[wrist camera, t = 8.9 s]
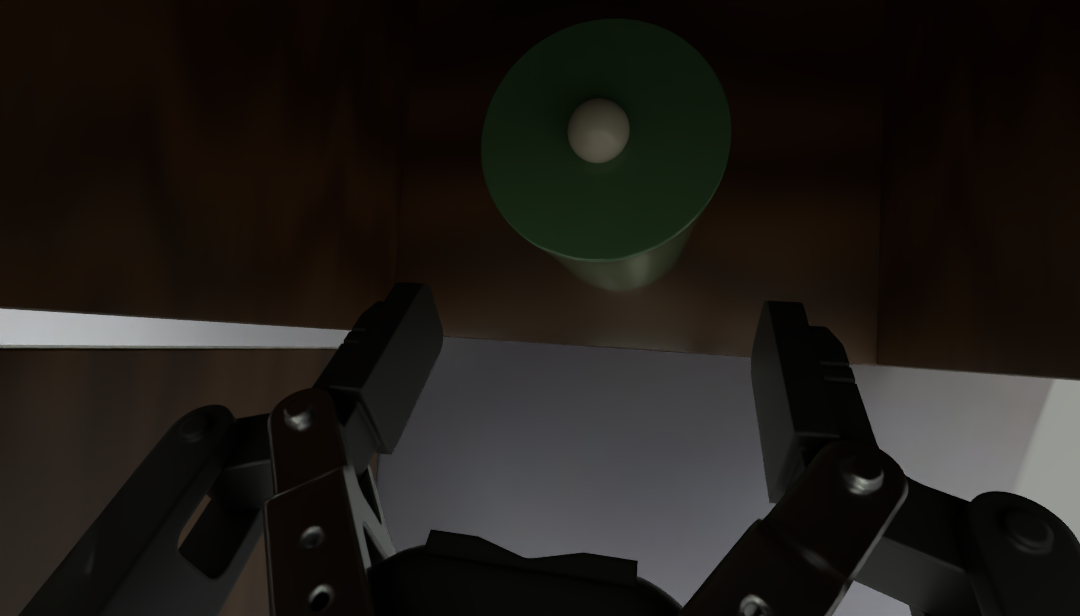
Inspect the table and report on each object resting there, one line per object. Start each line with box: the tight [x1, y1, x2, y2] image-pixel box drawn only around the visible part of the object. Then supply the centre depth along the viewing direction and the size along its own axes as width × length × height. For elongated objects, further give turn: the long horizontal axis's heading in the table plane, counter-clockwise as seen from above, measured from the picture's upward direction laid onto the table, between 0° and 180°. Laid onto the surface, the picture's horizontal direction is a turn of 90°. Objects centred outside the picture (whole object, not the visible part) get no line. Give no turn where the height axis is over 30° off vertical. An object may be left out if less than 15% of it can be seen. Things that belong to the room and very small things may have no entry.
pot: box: [481, 18, 732, 290], centre depth 17 cm, size 7×7×10 cm
